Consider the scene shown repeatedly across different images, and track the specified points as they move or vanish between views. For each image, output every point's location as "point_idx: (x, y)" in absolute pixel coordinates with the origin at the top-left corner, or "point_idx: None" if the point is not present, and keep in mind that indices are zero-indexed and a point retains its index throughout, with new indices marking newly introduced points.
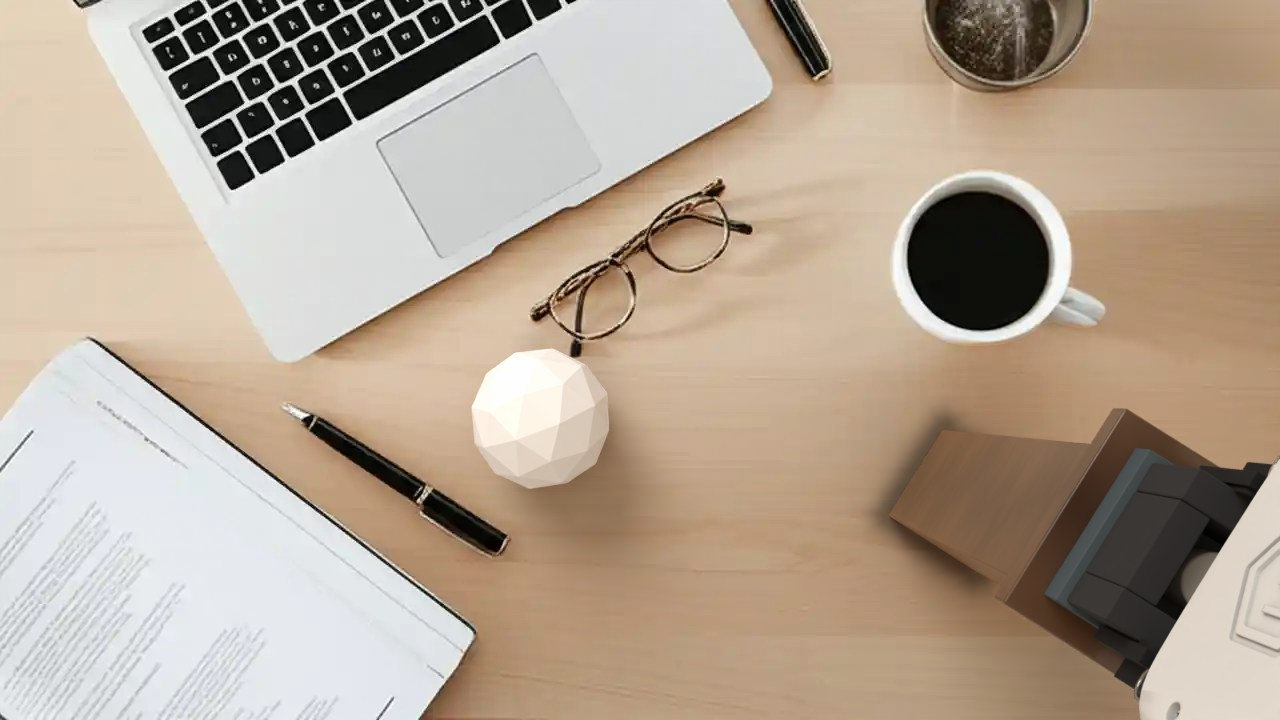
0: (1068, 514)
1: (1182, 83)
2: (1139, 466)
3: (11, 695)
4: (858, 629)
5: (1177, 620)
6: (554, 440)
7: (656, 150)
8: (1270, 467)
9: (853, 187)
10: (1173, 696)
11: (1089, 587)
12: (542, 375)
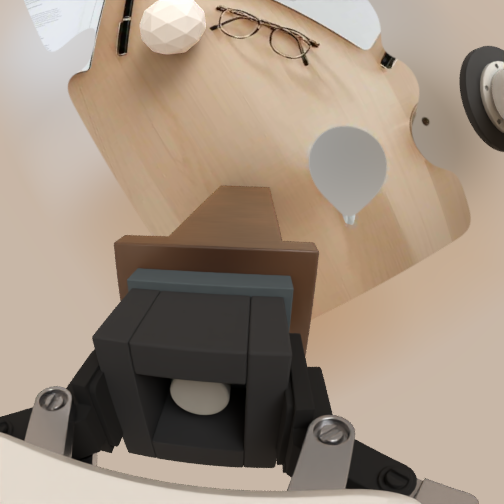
0: (206, 253)
1: (444, 210)
2: (273, 288)
3: None
4: (169, 201)
5: (42, 455)
6: (159, 26)
7: (315, 16)
8: (324, 399)
9: (349, 98)
10: None
11: (140, 303)
12: (186, 7)
